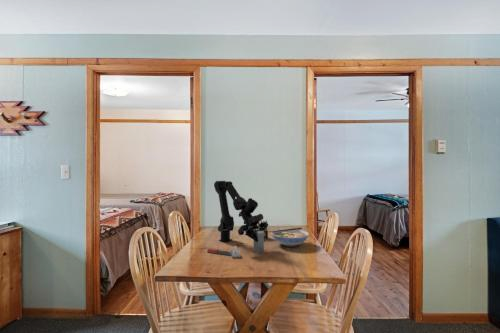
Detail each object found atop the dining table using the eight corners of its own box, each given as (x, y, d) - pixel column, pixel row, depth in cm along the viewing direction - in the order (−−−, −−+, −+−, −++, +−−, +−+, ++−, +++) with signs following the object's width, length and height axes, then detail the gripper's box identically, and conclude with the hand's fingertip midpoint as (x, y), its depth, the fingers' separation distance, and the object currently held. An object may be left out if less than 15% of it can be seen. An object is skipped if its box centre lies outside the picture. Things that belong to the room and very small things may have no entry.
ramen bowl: (280, 252, 149) (280, 237, 149) (263, 242, 170) (263, 229, 170) (318, 247, 158) (318, 233, 158) (297, 238, 179) (297, 226, 179)
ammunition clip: (253, 239, 178) (253, 221, 178) (252, 238, 179) (252, 220, 180) (268, 238, 181) (268, 220, 181) (267, 237, 183) (267, 219, 183)
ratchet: (209, 251, 151) (209, 242, 151) (243, 254, 145) (243, 245, 145) (203, 254, 145) (203, 245, 145) (238, 258, 138) (238, 248, 138)
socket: (253, 252, 149) (253, 230, 149) (259, 250, 152) (259, 229, 152) (258, 253, 146) (258, 231, 146) (263, 252, 149) (263, 230, 149)
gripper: (241, 210, 147) (253, 234, 138) (266, 207, 158) (279, 229, 149) (232, 223, 153) (244, 246, 144) (257, 219, 164) (270, 241, 155)
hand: (260, 240), depth 148 cm, fingers closed on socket, 4 cm apart
